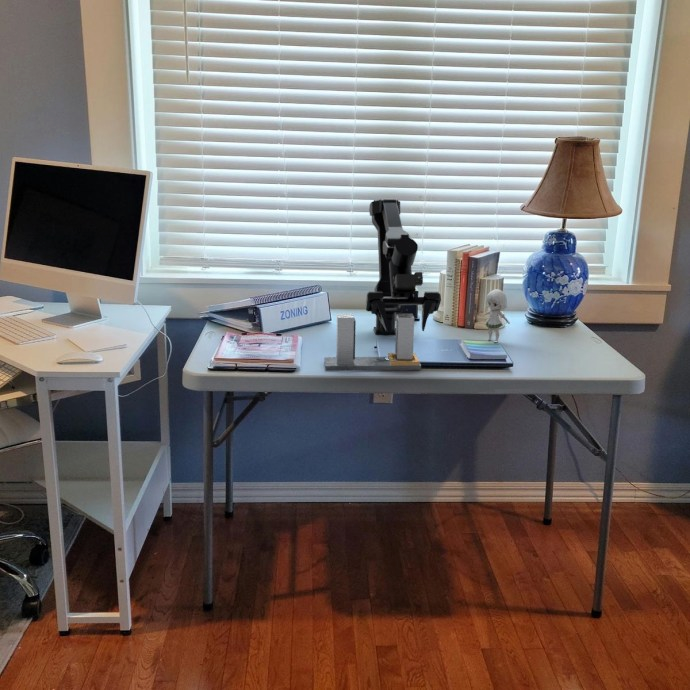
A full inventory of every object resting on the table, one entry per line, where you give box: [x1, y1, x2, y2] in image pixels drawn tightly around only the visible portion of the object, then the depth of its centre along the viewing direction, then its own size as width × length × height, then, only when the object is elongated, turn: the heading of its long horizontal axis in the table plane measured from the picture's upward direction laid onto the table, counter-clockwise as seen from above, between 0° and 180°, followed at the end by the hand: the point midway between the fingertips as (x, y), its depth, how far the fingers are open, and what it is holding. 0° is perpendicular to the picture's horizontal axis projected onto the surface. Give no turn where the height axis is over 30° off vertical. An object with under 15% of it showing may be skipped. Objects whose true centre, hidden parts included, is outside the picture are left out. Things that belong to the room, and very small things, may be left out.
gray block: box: [394, 313, 415, 361], centre depth 196 cm, size 4×4×12 cm
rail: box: [324, 313, 422, 371], centre depth 196 cm, size 7×24×13 cm, turn 94°
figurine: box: [481, 288, 511, 343], centre depth 219 cm, size 10×6×15 cm, turn 40°
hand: (405, 330), depth 194 cm, fingers open, 9 cm apart
